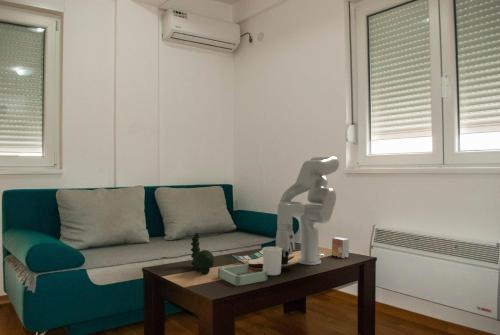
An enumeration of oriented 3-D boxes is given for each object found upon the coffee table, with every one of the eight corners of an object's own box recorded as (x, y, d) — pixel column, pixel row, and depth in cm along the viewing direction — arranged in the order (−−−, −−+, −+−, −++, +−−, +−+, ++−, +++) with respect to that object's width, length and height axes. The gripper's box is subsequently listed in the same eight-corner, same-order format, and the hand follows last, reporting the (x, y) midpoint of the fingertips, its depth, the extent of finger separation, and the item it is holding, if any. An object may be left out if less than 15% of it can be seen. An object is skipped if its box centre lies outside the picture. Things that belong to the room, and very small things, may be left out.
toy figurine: (186, 269, 202) (199, 277, 180) (185, 232, 204) (199, 236, 181) (203, 267, 206) (219, 275, 183) (202, 231, 208) (218, 234, 185)
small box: (331, 255, 228) (331, 237, 228) (338, 254, 231) (338, 236, 231) (342, 258, 221) (342, 239, 221) (348, 257, 225) (348, 238, 225)
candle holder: (286, 273, 189) (286, 249, 189) (270, 276, 183) (270, 251, 183) (273, 269, 197) (273, 245, 197) (258, 272, 191) (258, 247, 191)
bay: (246, 271, 192) (246, 259, 192) (267, 280, 178) (267, 267, 178) (218, 276, 183) (218, 264, 183) (237, 286, 169) (237, 272, 169)
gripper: (300, 229, 190) (300, 266, 190) (281, 225, 202) (281, 260, 202) (288, 230, 186) (288, 268, 186) (269, 226, 198) (269, 262, 198)
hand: (284, 264), depth 194 cm, fingers closed
